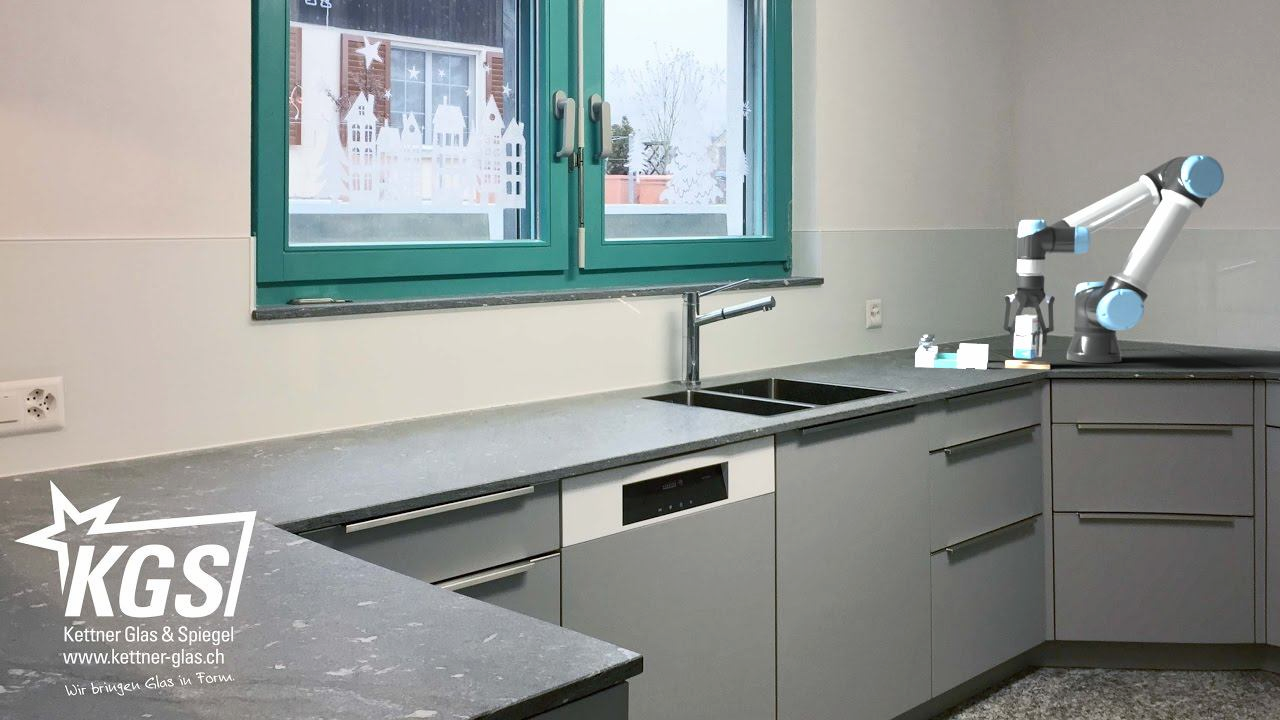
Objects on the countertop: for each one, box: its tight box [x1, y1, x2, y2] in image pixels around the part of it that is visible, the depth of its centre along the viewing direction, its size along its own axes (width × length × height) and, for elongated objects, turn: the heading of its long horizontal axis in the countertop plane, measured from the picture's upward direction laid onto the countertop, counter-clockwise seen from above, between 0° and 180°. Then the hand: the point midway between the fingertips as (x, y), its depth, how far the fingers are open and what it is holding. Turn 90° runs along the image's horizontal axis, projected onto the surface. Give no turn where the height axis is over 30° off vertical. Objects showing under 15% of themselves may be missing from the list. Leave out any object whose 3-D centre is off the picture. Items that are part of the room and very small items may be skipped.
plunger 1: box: [921, 333, 935, 348], centre depth 357 cm, size 4×4×7 cm
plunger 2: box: [918, 336, 933, 352], centre depth 347 cm, size 4×4×7 cm
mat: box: [1004, 359, 1051, 370], centre depth 344 cm, size 12×10×1 cm
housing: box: [914, 343, 989, 370], centre depth 350 cm, size 20×19×5 cm
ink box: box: [1014, 314, 1042, 360], centre depth 343 cm, size 8×5×12 cm, turn 143°
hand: (1027, 355), depth 344 cm, fingers closed on ink box, 6 cm apart
